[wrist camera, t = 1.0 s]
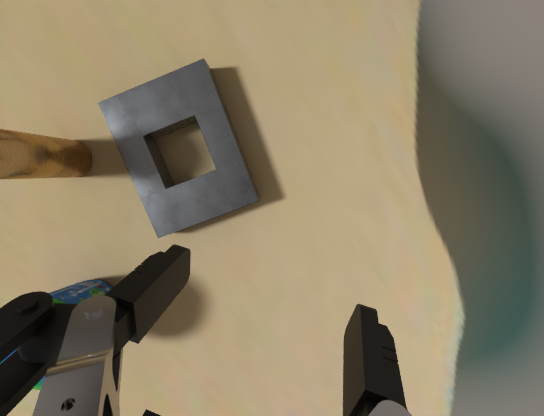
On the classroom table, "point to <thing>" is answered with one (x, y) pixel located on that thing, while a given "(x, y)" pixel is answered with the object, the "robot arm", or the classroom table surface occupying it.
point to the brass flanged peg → (41, 156)
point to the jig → (167, 118)
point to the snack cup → (76, 299)
